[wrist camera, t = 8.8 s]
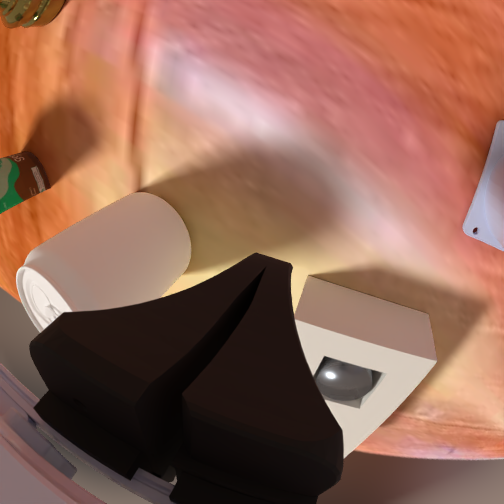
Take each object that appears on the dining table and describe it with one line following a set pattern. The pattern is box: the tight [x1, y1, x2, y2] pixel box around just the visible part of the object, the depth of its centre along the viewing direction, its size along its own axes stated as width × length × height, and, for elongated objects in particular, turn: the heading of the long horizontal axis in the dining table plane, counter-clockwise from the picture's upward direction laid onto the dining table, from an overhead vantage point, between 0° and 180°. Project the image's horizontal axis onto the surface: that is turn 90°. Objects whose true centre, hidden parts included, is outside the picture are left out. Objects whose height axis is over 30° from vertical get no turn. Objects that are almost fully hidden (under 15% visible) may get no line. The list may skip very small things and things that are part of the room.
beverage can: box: [16, 192, 191, 333], centre depth 20 cm, size 8×8×12 cm
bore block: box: [294, 276, 437, 457], centre depth 24 cm, size 10×18×5 cm, turn 170°
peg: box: [316, 356, 373, 401], centre depth 21 cm, size 4×4×4 cm
